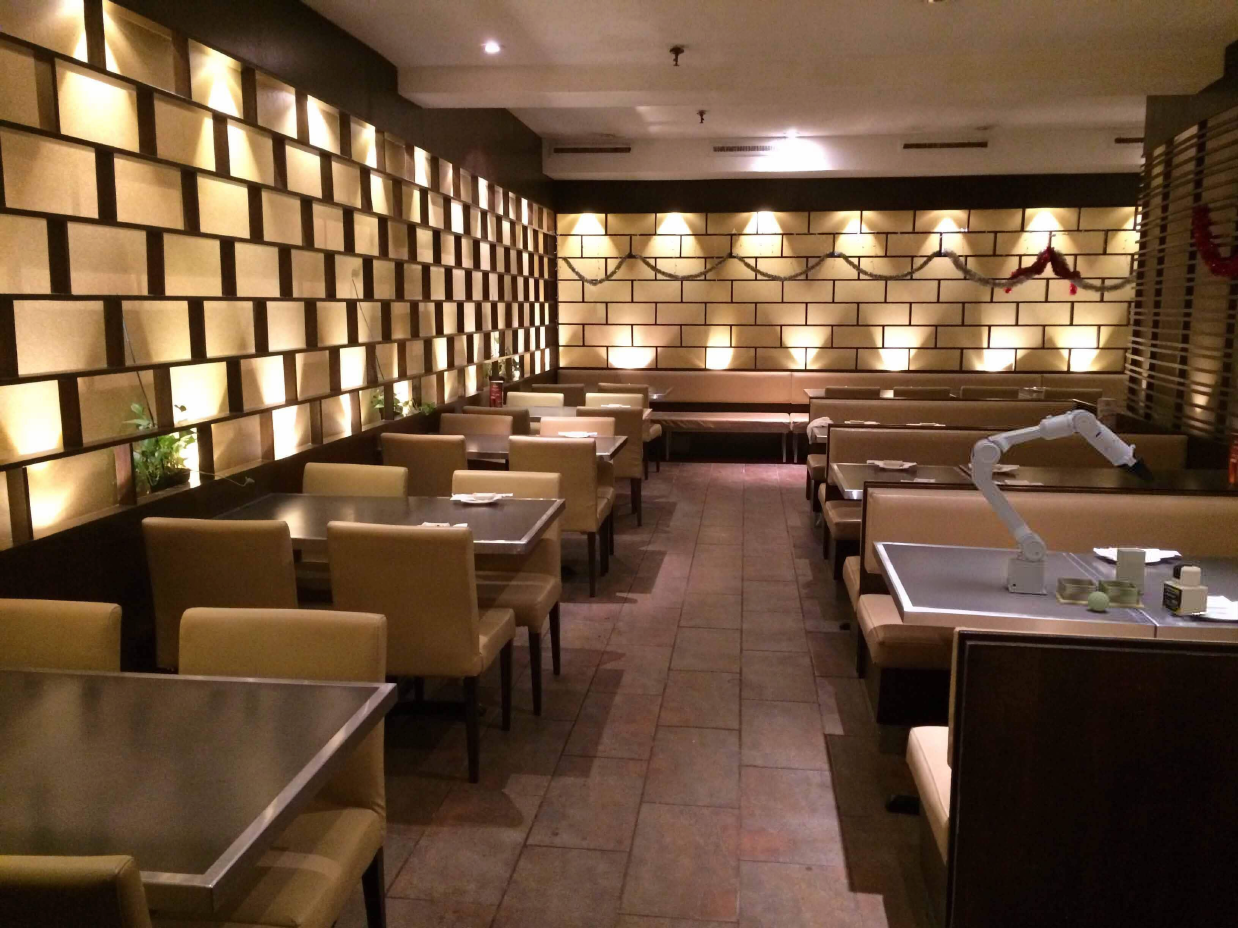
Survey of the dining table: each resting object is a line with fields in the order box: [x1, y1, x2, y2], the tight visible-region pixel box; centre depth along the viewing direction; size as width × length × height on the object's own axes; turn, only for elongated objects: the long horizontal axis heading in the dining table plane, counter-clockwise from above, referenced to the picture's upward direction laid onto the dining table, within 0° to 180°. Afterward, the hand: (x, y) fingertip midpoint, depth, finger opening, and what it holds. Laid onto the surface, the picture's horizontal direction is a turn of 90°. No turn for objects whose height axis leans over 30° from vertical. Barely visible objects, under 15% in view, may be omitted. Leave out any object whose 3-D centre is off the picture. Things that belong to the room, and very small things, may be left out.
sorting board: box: [1053, 576, 1146, 610], centre depth 256 cm, size 20×11×5 cm, turn 75°
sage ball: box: [1088, 592, 1109, 612], centre depth 247 cm, size 5×5×5 cm
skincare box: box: [1114, 547, 1147, 595], centre depth 265 cm, size 6×4×12 cm
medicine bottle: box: [1161, 563, 1209, 617], centre depth 246 cm, size 7×7×12 cm
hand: (1148, 479), depth 256 cm, fingers open, 7 cm apart
